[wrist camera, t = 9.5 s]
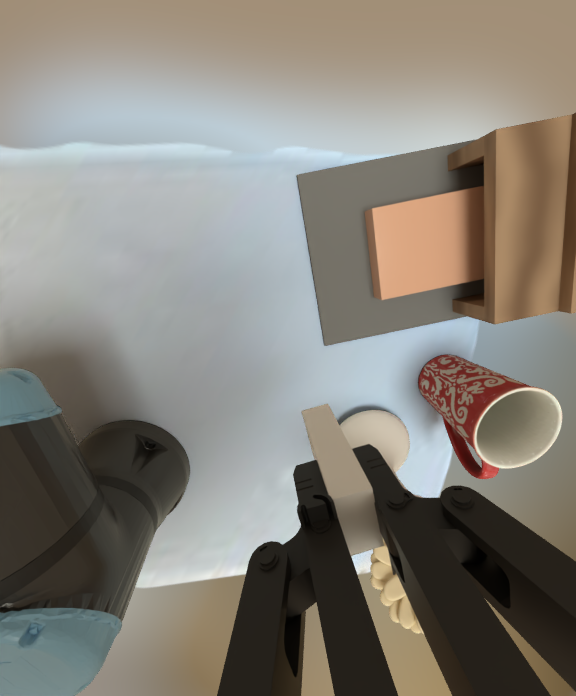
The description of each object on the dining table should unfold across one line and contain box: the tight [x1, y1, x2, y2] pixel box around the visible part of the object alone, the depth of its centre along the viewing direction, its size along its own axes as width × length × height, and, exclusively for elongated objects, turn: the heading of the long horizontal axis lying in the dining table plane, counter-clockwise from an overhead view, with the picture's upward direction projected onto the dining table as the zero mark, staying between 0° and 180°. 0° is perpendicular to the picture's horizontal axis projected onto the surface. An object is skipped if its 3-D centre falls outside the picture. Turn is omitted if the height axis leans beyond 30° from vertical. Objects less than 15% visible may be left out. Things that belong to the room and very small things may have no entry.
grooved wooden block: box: [447, 113, 576, 324], centre depth 33 cm, size 9×18×9 cm, turn 11°
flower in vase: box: [340, 410, 424, 634], centre depth 33 cm, size 13×11×25 cm
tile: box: [365, 186, 484, 300], centre depth 36 cm, size 14×10×3 cm
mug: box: [418, 355, 562, 479], centre depth 37 cm, size 13×9×14 cm
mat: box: [297, 140, 484, 346], centre depth 38 cm, size 28×20×1 cm
